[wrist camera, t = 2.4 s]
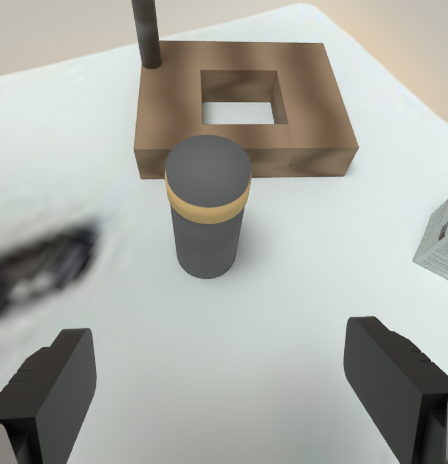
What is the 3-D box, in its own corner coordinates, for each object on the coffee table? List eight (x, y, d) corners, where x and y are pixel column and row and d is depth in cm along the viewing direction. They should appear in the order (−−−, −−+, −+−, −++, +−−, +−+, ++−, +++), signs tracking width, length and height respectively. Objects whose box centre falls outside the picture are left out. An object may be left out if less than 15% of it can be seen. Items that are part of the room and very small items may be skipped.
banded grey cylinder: (175, 280, 28) (162, 202, 19) (175, 226, 31) (164, 133, 21) (239, 278, 29) (257, 201, 19) (234, 224, 31) (248, 133, 22)
